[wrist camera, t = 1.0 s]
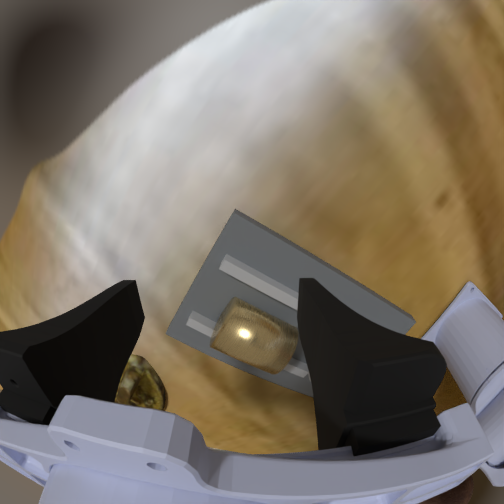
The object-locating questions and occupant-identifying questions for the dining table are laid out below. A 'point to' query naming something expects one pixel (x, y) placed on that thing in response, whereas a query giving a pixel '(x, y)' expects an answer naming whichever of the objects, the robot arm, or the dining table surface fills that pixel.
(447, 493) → the wooden sphere
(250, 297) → the valve board
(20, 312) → the dining table surface
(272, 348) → the brass fitting
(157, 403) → the seal
